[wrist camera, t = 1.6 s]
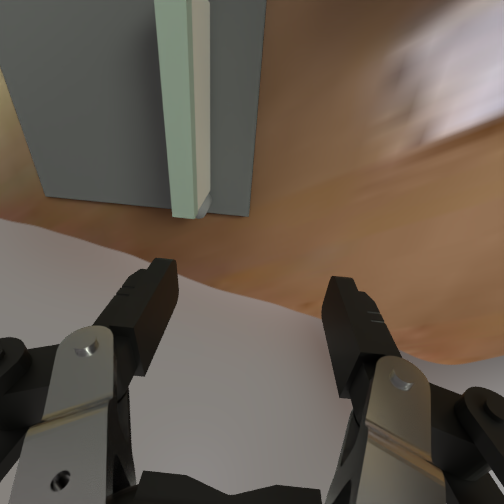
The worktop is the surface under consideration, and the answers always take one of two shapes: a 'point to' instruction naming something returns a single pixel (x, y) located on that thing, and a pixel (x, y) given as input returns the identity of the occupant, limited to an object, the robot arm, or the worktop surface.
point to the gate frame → (126, 98)
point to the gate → (185, 99)
